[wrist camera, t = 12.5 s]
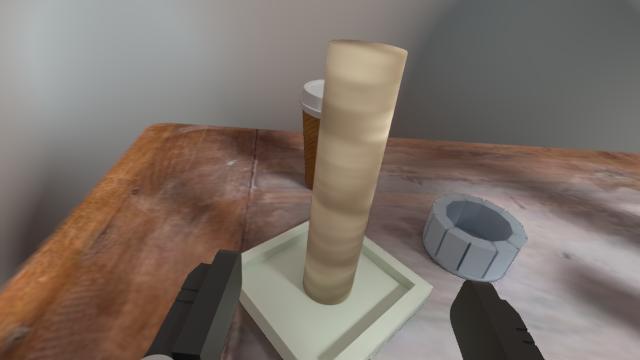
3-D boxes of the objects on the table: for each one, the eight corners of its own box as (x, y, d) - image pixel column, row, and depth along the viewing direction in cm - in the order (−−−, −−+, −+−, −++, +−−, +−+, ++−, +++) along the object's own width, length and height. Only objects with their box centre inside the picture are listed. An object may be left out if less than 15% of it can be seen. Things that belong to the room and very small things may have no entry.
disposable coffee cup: (369, 172, 43) (388, 86, 37) (361, 211, 35) (383, 111, 29) (304, 158, 45) (312, 73, 38) (282, 193, 37) (287, 94, 30)
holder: (446, 213, 37) (457, 185, 35) (519, 255, 32) (538, 226, 30) (406, 242, 32) (417, 212, 30) (486, 298, 27) (506, 266, 25)
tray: (328, 224, 33) (330, 209, 32) (425, 302, 26) (433, 286, 25) (223, 279, 26) (222, 263, 24) (320, 409, 18) (324, 393, 17)
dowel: (328, 258, 27) (363, 39, 18) (361, 287, 25) (423, 53, 16) (292, 280, 25) (312, 40, 16) (326, 314, 23) (373, 56, 13)
